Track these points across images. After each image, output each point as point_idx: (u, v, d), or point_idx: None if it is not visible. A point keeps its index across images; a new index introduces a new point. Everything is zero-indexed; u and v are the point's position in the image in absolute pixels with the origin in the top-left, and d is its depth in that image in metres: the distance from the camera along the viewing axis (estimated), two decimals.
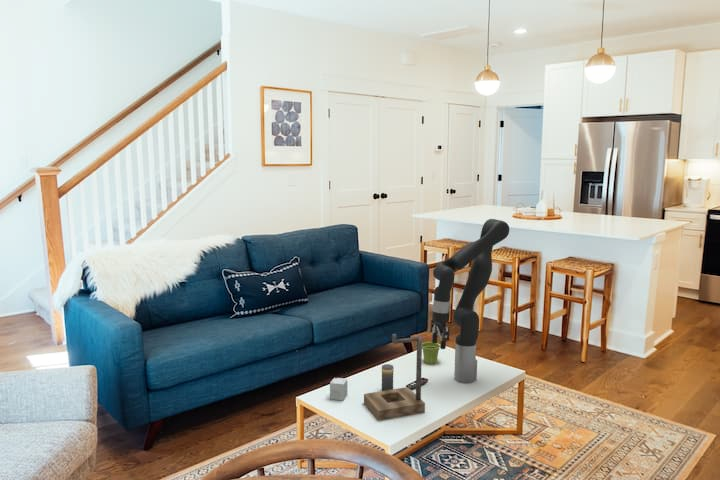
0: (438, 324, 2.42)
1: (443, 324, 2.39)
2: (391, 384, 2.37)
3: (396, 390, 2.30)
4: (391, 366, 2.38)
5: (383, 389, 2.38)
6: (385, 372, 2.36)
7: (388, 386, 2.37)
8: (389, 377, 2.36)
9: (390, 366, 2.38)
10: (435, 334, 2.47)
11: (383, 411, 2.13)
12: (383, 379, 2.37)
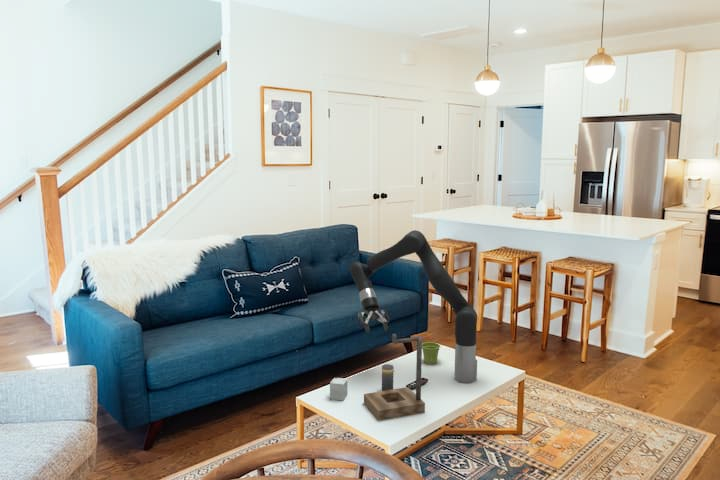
0: None
1: (364, 311, 2.51)
2: (391, 384, 2.37)
3: (396, 390, 2.30)
4: (391, 366, 2.38)
5: (383, 389, 2.38)
6: (385, 371, 2.36)
7: (388, 386, 2.37)
8: (389, 377, 2.36)
9: (390, 366, 2.38)
10: (383, 322, 2.50)
11: (383, 411, 2.13)
12: (383, 379, 2.37)
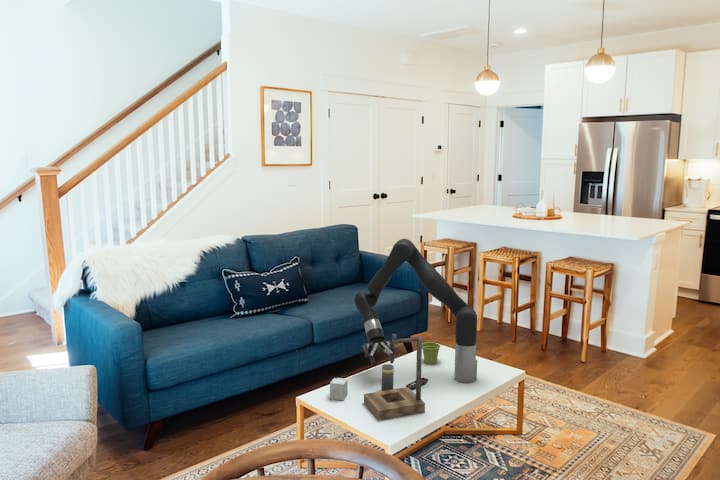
0: None
1: (369, 342, 2.47)
2: (391, 384, 2.37)
3: (396, 390, 2.30)
4: (391, 366, 2.38)
5: (383, 389, 2.38)
6: (385, 372, 2.36)
7: (388, 386, 2.37)
8: (389, 377, 2.36)
9: (390, 366, 2.38)
10: (389, 354, 2.46)
11: (383, 411, 2.13)
12: (383, 379, 2.37)
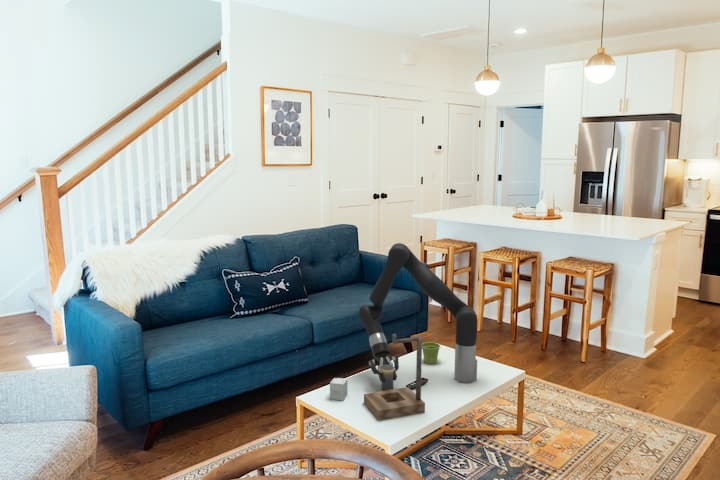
0: None
1: (374, 357, 2.42)
2: (391, 384, 2.37)
3: (396, 390, 2.30)
4: (391, 366, 2.38)
5: (383, 389, 2.38)
6: (385, 372, 2.36)
7: (388, 386, 2.37)
8: (389, 377, 2.36)
9: (390, 366, 2.38)
10: None
11: (383, 411, 2.13)
12: (384, 379, 2.37)
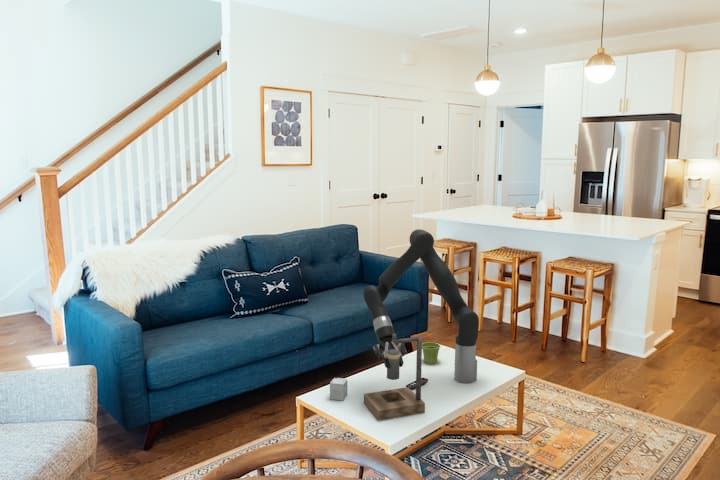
0: None
1: None
2: (397, 370, 2.20)
3: (396, 390, 2.30)
4: (397, 351, 2.21)
5: (388, 376, 2.21)
6: (390, 357, 2.19)
7: (394, 373, 2.20)
8: (395, 363, 2.19)
9: (396, 351, 2.21)
10: None
11: (383, 411, 2.13)
12: None
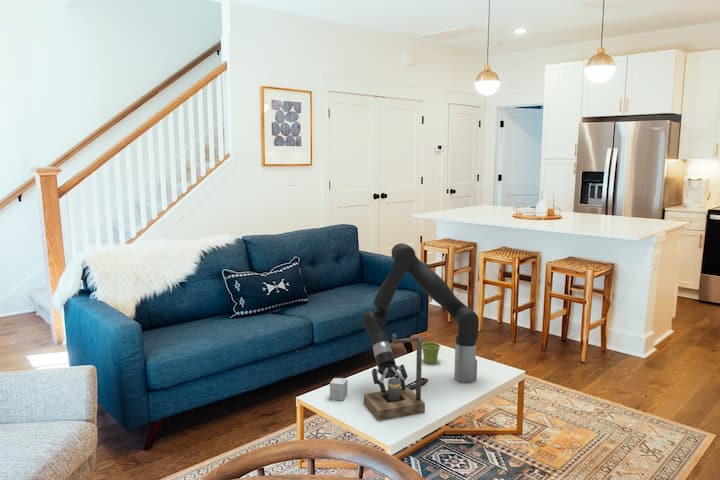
0: None
1: (378, 367, 2.27)
2: (398, 399, 2.23)
3: None
4: (398, 380, 2.23)
5: None
6: (391, 386, 2.21)
7: None
8: (395, 392, 2.21)
9: (397, 380, 2.23)
10: (400, 380, 2.26)
11: (383, 411, 2.13)
12: (390, 395, 2.22)
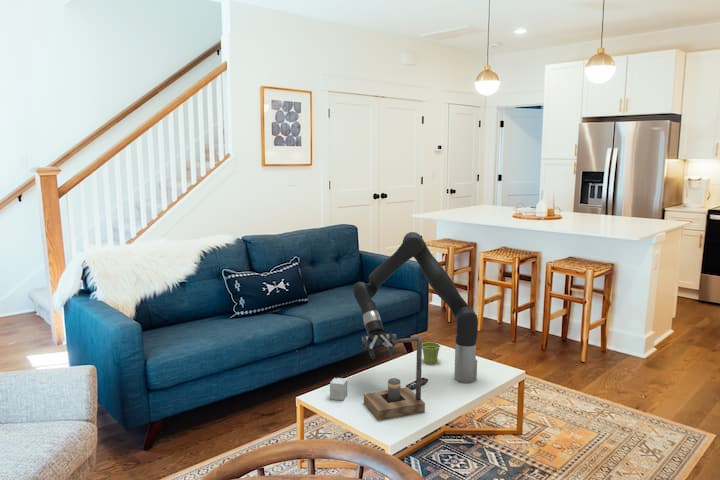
0: None
1: (368, 335, 2.37)
2: (398, 399, 2.23)
3: None
4: (398, 380, 2.23)
5: None
6: (391, 386, 2.21)
7: None
8: (395, 392, 2.21)
9: (397, 380, 2.23)
10: (389, 347, 2.37)
11: (383, 411, 2.13)
12: (390, 395, 2.22)
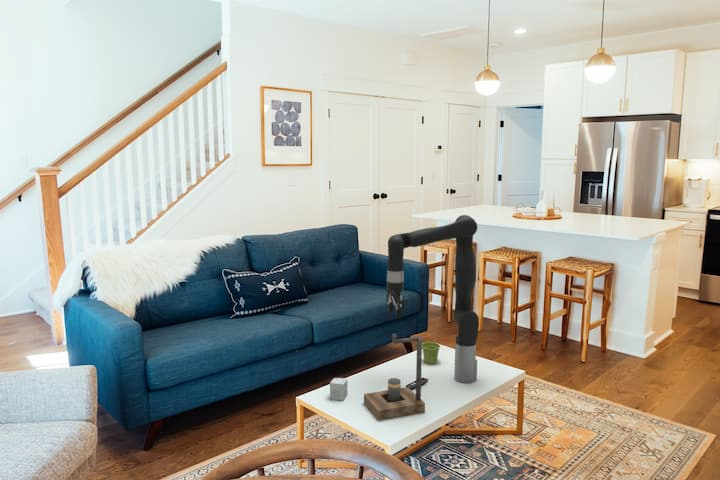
0: (393, 294, 2.45)
1: (398, 293, 2.43)
2: (398, 399, 2.23)
3: None
4: (398, 380, 2.23)
5: None
6: (391, 386, 2.21)
7: None
8: (395, 392, 2.21)
9: (397, 380, 2.23)
10: (391, 304, 2.51)
11: (383, 411, 2.13)
12: (390, 395, 2.22)
